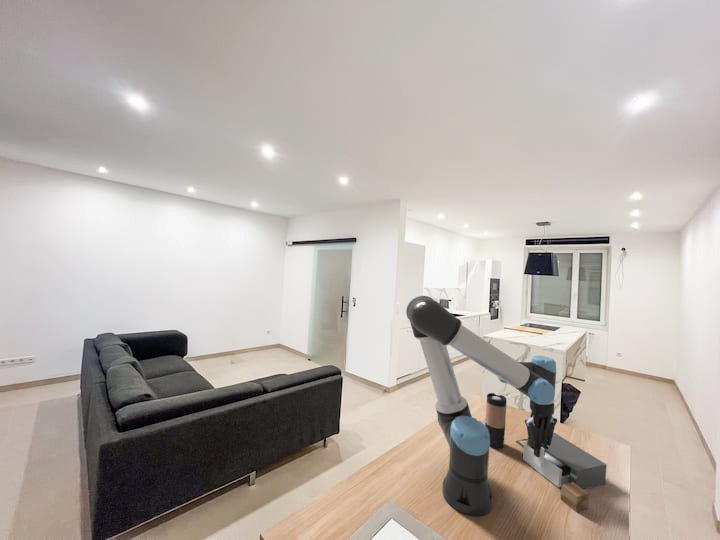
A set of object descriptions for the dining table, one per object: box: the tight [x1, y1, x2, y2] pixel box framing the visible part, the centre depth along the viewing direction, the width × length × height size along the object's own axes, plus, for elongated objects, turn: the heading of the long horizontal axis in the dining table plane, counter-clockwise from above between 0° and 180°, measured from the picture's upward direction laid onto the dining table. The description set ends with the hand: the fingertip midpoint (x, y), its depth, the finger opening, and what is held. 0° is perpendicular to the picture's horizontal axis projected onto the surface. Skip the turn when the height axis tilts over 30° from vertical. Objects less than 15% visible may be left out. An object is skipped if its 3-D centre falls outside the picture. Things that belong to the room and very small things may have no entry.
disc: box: [544, 451, 565, 467], centre depth 111 cm, size 8×8×2 cm
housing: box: [527, 432, 607, 490], centre depth 113 cm, size 15×20×7 cm
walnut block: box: [560, 482, 590, 513], centre depth 95 cm, size 5×5×5 cm
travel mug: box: [484, 392, 507, 450], centre depth 126 cm, size 8×8×20 cm
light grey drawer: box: [522, 445, 571, 488], centre depth 111 cm, size 13×15×6 cm
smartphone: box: [515, 438, 528, 449], centre depth 122 cm, size 8×15×1 cm, turn 17°
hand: (538, 464), depth 109 cm, fingers closed
